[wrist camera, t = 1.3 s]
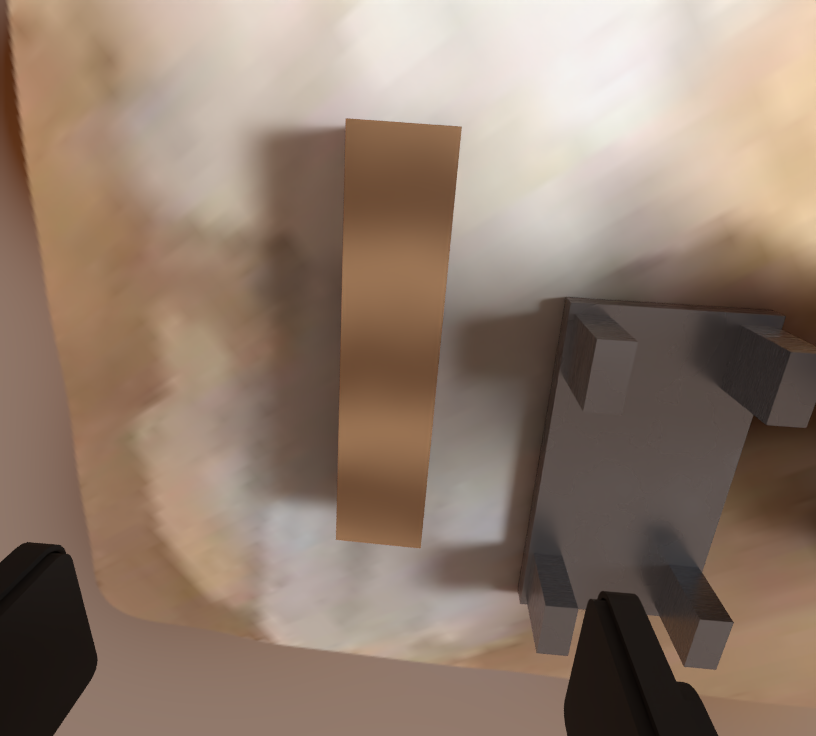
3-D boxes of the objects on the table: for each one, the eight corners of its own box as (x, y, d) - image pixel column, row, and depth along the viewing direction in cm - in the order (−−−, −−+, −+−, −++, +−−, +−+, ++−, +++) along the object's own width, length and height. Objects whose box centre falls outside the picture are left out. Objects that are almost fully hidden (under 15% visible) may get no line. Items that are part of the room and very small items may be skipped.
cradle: (566, 296, 23) (592, 325, 19) (771, 310, 23) (845, 342, 19) (517, 589, 29) (530, 660, 25) (679, 604, 29) (718, 677, 25)
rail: (362, 126, 22) (345, 118, 18) (458, 133, 21) (461, 126, 18) (350, 490, 28) (336, 539, 24) (423, 497, 28) (420, 548, 24)
